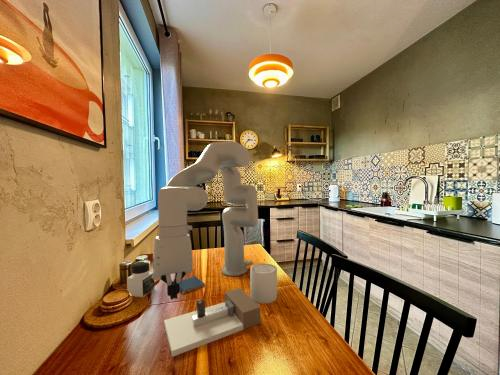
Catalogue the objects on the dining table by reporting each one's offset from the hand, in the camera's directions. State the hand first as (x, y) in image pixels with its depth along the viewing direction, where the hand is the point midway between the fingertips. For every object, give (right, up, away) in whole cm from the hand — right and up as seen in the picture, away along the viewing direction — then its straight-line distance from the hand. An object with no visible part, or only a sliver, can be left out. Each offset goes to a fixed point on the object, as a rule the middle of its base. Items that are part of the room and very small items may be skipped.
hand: (173, 296), depth 60 cm
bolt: (+10, -10, +6) cm, 15 cm away
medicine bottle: (-22, -12, +26) cm, 36 cm away
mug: (+26, -11, +24) cm, 37 cm away
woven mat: (-4, -12, +31) cm, 34 cm away
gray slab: (+10, -12, +6) cm, 16 cm away
